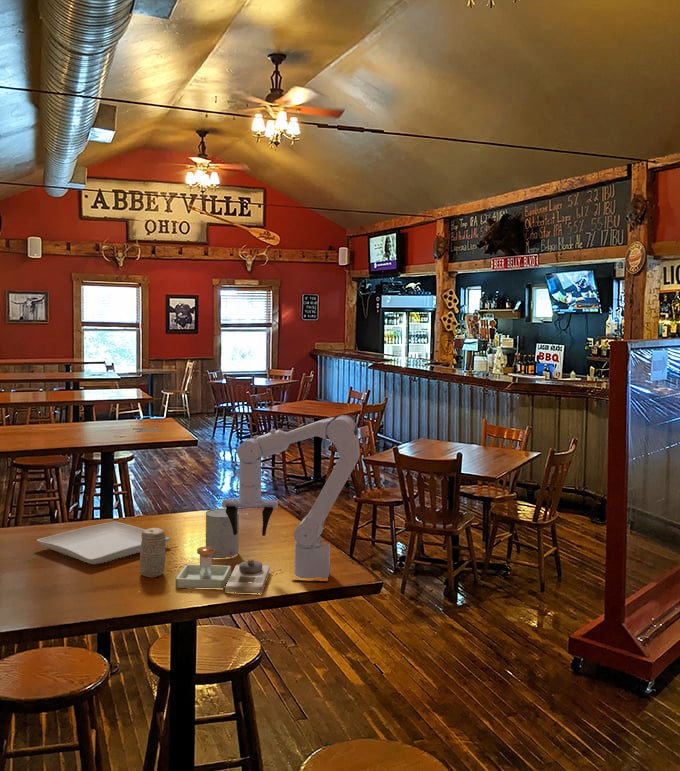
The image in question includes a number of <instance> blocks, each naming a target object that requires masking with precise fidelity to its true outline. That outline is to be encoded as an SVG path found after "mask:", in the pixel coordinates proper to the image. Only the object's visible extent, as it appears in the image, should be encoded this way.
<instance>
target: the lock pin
mask: <svg viewBox="0 0 680 771" xmlns="http://www.w3.org/2000/svg"><path fill="white" fill-rule="evenodd" d="M214 551H215V549H214V548H213V547H206V546H201V547H198V548H197V549H196V554H198V555H199V565H200V579H212V565H213V564H212V563H213V559H212V554H213V553H214Z"/></svg>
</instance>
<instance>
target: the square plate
mask: <svg viewBox="0 0 680 771" xmlns="http://www.w3.org/2000/svg"><path fill="white" fill-rule="evenodd" d="M144 530H146V529H144V528H141V527H138V526H135V525H130V524H127V523H123V522H120V521H116V520H115V521H114V520H113V521H109V522H103V523H100V524H94V525H89V526H84V527H79V528H77V529H71V530H69V531H64V532H59V533H57V534H52V535H49V536H45V537H41V538H37V539H36V541H37V542H38V543H39V544H40V545H42V546H43V547H45V548H47V549H49V550H53V551H55V552H58V553H60V554H61V555H65V556H67V555H68V556H67V557H71V558H72V559H73V558H74V559H76V560H78V559H79V561H81V562H84V563H86V562H87V564H91V565H99V564H104V562H105V563H108V561H109V562H113V561H115V559H116V560H119V559H118V558H120V559H123V558H126V556H127V557H129V555H130V556H132V554H133V555H136V553H137V554H140V551H141V542H142V537H141V535H142V532H143V531H144ZM165 537H166V541H165V544H166V543H168V542H169V541H170V540H171V538H170V537H168V536H165ZM122 557H123V558H122ZM112 560H113V561H112Z"/></svg>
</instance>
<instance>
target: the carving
mask: <svg viewBox="0 0 680 771" xmlns="http://www.w3.org/2000/svg"><path fill="white" fill-rule="evenodd" d="M141 537H142V542H141V551H140V553H139V554H140V555H139V571H140V572H139V573H140V574H141V575H142V576H144V577H146V578H150V579H151V578H152V579H153V578H158V577H161V576H162V575H163V573H164V570H165V565H166V543H165V541H166V537H167V536H166V533H165V531H164V529H163V528H161V527H149V528H147V529H145V530H144V531H143V532H142V535H141ZM157 576H158V577H157Z"/></svg>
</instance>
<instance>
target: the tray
mask: <svg viewBox="0 0 680 771" xmlns="http://www.w3.org/2000/svg"><path fill="white" fill-rule="evenodd" d="M230 574H232V565H224V564H223V565H222V564H221V565H218V564H217V565H215V564H212V579H200V564H189V563H188V564H187V563H186V564H185V565H184V566H183V568H182V569H181V571H180V572H179V573H178V574H177V576H176V578H175V589H176V588H192V589H191V590H194V589H193V588H224V586H225V584H226V582H227V580H228V578H229V576H230ZM224 589H225V588H224Z"/></svg>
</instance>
